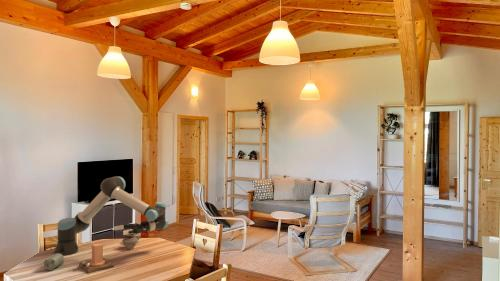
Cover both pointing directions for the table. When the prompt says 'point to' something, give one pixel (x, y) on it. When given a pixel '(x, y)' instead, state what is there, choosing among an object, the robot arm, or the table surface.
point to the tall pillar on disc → (97, 255)
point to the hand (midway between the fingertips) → (118, 230)
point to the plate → (94, 269)
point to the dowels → (85, 264)
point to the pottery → (131, 240)
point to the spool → (53, 261)
